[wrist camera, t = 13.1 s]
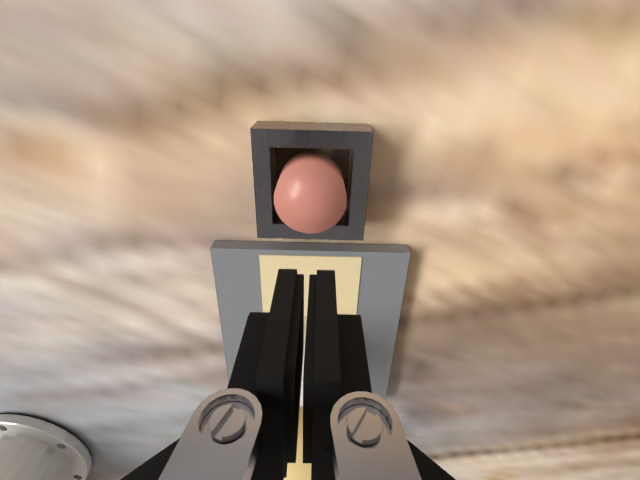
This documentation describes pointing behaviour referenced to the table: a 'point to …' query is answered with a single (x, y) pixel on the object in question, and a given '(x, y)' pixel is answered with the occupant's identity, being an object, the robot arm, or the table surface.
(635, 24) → the table surface
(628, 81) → the table surface
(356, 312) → the board
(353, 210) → the button housing
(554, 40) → the table surface
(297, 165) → the button
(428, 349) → the table surface
